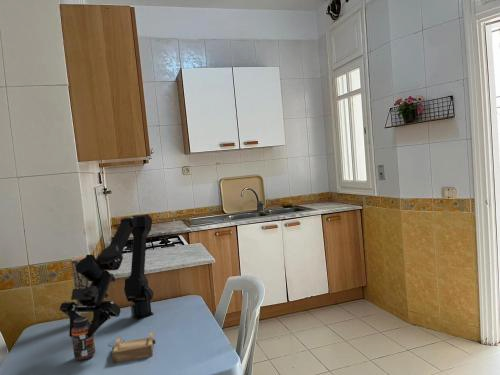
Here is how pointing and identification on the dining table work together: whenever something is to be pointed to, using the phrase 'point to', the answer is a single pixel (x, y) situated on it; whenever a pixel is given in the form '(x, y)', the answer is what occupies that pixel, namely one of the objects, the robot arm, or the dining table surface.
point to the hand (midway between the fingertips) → (79, 336)
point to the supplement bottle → (82, 339)
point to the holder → (133, 349)
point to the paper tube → (80, 284)
